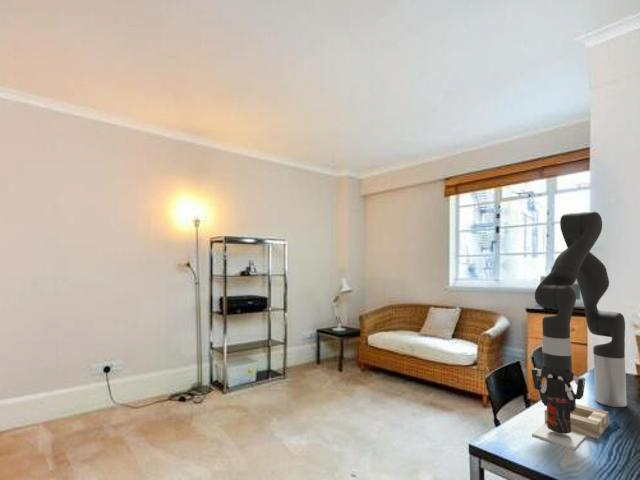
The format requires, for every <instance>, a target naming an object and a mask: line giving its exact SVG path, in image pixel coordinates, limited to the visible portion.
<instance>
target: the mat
mask: <svg viewBox="0 0 640 480" xmlns="http://www.w3.org/2000/svg"><path fill="white" fill-rule="evenodd" d="M531 436H532V437H534V438H537V439H538V438H539V439H541V440H545V441H547V442H550V443H553V444H556V445H560V446H563V447H566V448H569V449H571V450H573V451H574V450H576V449H577V448H578V447H579V446H580V445H581V443H583V442H584V440H585V439H586V438H587V435H584V434H581V433H577V432H574V431H571V432H570V433H567V434H563V433H557V432H554V431H552V430H550V429H549V428H548V427H547V423H545V422H544V423H543V424H542V425H540V426H539V427H538V428H537V429H536V430H534V431H533V432H532V433H531Z"/></svg>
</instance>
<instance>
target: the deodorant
mask: <svg viewBox="0 0 640 480" xmlns="http://www.w3.org/2000/svg"><path fill="white" fill-rule="evenodd" d="M546 379H547V387H546V394H547V406H546V409H547V427H548V428H549V429H550V430H552V431H554V432H557V433H563V434H567V433H570V432H571V417H570V412H569V410H568V399H569V397H568V395H567V392H566V391H565V388H566V387H565V383H566V385H567V386H568V388H569V387H570V386H569V384H567V381H561V380H558V379H555V378H547V377H546ZM546 379H545V380H546Z"/></svg>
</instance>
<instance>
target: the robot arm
mask: <svg viewBox="0 0 640 480" xmlns="http://www.w3.org/2000/svg"><path fill="white" fill-rule="evenodd" d="M559 225H560V226H559V227H560V231H561V235H562V237H563V240H564V243H565V245H566V247H567V248H566V249H564V250H563V251H562V252H561V253H560V254H559V255H558V256H557V258H556V259H555V260H554V262H553V266H552V267H551V270H550V273H548V274H547V275H546V276H545V278H543V280H542V281H541V282H539V284H538V286H537V288H536V289H535V292H534V301H535V303H536V304H537V305H538V306H540V307H543V308H549V309H558V312H557V314H555V315H547V316H546V315H545V316H544V317H543V318H542V339H541V340H542V341H541V350H542V351H541V353H542V355H541V357H542V359H541V360H542V368H541V369H540V368H537V367H534V368H533V369H531V377H532V382H533V387H534V390H537V391H539V392H540V393H541V403H542V404H543V406H544V407H547V394H546V387H547V379H546V377H547V378H555V379H558V380H561V381H567V384H569V386H570V387H569V388H568V386H567V385H566V383H565V387H566V388H565V391H566V392H567V395H568V397H569V399H568V410H569V412H571V413H572V412H573V411H574V410H575V409H576V404H577V403H576V400H581V399H582V398H584V394H585V385H586V378H585V377H583V376H582V377H579V376H576V375H575V374H574V373H573V355H572V354H573V353H572V351H573V350H572V342H571V341H572V340H571V326H570V324H571V320H572V314H573V312H574V308H575V306H576V301H577V295H576V292H575V290H574V289H573V288H572V287H571V286H573V285H574V284H575V283H576V282H577V285H578V288H579V292H580V294H581V299H582V302H583V307H584V314H585V318H586V325H587V328H588V330H589V332H590V333H591V334H592V335H595V336H599V337H600V336H601V337H607V338H611V341H609V342H607V343H603V344H601V343H600V344H596V345H594V346H593V349H592V350H593V376H594V377H593V378H594V401H596V402H597V403H599V404H600V405H604V406H608V407H615V408H626V407H627V405H628V404H627V403H628V402H627V384H626V383H627V381H626V379H627V377H626V376H627V375H626V358H625V357H626V354H625V353H626V352H625V350H626V348H625V347H626V346H625V345H626V343H625V340H626V338H625V337H626V321H625V320H626V319H625V317H624V315H623V314H622V313H621V312H616V311H606V310H599V309H598V303H599V302H600V300H601V299H602V297H603V296H604V295H605V293H606V292H607V290H608V289H609V286H610V280H609V274H608V271H607V268H606V266H605V265H604V263H603V262H602V261H601V260H600V259H599V258H598V257H597V256H596V255H594V254H593V253H592V252H591V250H592V248H593V247H594V245H595V244H596V242H597V241H598V239H599V237H600V235H601V232H602V230H603V220H602V217H601V215H600V213H599V212H597V211H577V212H576V211H575V212H567V213H563V215H561V217H560V220H559ZM540 376H543V377H544V379H545V381H544V383H543V384H542V383H541V377H540ZM572 381H574V383H575V385H577V387H576V393H575V391H574V388H573V385H572V384H571V382H572Z"/></svg>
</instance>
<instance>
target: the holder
mask: <svg viewBox="0 0 640 480" xmlns="http://www.w3.org/2000/svg"><path fill="white" fill-rule="evenodd" d="M609 414H610V412H609V411H606V410H602V409H600V408H599V409H598V408H594V407H591V406H586V405H582V404H578V403H576V409H575V410H574V411H573V412H572V413H571V412H570V417H571V431H574V432H577V433H581V434H584V435H586V437H587V436H588V437H591V438H594V439H599V438H600V437H601V435H602V434H603V433H604V431H605V430H607V428H608V427H609V426H610V415H609ZM544 423H547V408H545V410H544Z"/></svg>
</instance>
